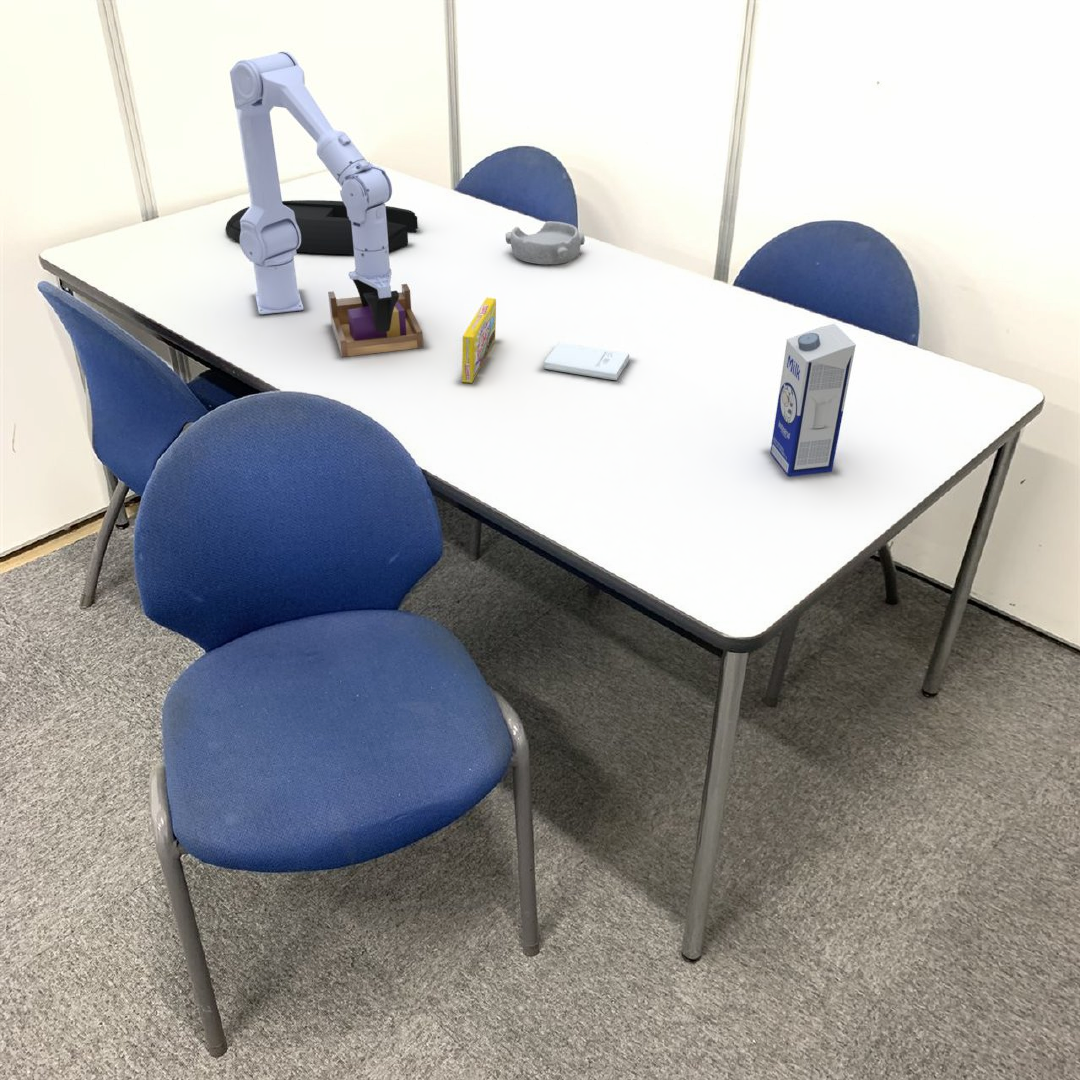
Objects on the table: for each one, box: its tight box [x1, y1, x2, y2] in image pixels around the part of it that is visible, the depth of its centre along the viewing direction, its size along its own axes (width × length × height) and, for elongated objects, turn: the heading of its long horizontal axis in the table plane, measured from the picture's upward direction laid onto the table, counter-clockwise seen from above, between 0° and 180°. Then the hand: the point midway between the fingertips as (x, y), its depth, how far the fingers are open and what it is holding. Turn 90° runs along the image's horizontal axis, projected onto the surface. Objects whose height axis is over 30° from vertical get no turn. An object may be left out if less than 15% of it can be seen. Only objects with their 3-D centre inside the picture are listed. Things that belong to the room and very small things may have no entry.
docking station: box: [224, 199, 419, 255], centre depth 233 cm, size 25×41×5 cm, turn 82°
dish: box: [505, 220, 586, 265], centre depth 224 cm, size 14×14×5 cm
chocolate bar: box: [348, 302, 406, 341], centre depth 189 cm, size 4×9×4 cm, turn 112°
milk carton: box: [770, 323, 857, 477], centre depth 153 cm, size 7×7×20 cm
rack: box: [327, 283, 424, 358], centre depth 191 cm, size 13×14×6 cm
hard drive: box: [543, 342, 630, 381], centre depth 184 cm, size 2×8×12 cm
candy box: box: [461, 297, 497, 384], centre depth 183 cm, size 16×2×8 cm, turn 169°
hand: (377, 322), depth 189 cm, fingers open, 7 cm apart
